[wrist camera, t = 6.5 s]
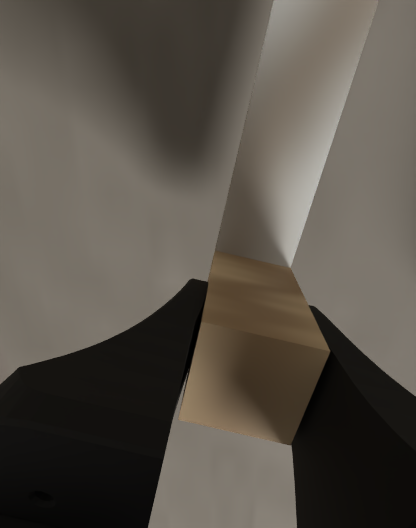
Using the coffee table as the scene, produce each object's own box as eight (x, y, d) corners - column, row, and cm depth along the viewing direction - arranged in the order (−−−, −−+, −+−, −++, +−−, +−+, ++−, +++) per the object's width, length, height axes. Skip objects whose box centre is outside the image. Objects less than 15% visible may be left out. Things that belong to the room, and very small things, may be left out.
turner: (388, -47, 9) (628, -352, 4) (267, 325, 14) (290, 445, 8) (290, -70, 9) (375, -411, 4) (200, 309, 14) (178, 419, 8)
